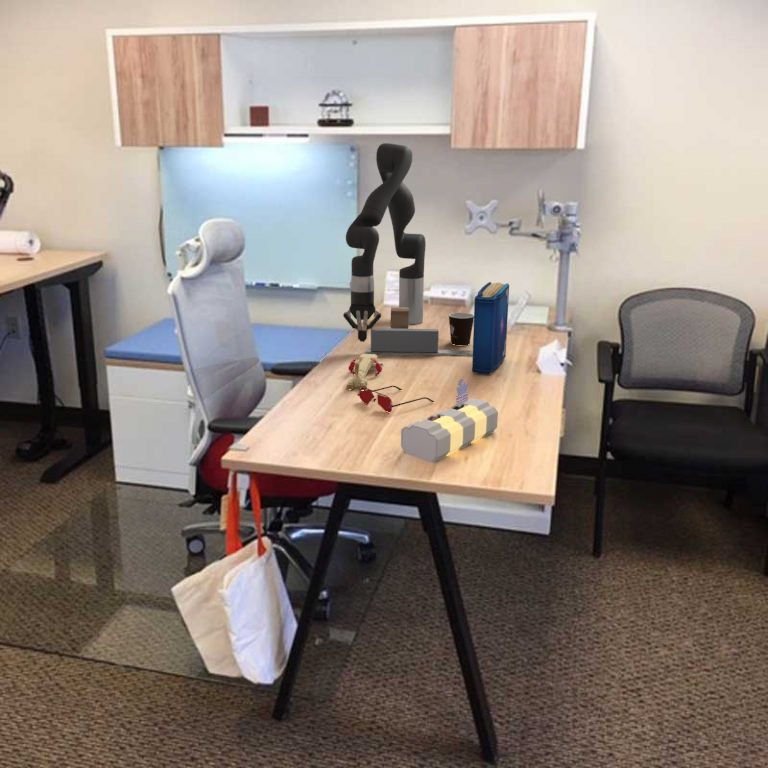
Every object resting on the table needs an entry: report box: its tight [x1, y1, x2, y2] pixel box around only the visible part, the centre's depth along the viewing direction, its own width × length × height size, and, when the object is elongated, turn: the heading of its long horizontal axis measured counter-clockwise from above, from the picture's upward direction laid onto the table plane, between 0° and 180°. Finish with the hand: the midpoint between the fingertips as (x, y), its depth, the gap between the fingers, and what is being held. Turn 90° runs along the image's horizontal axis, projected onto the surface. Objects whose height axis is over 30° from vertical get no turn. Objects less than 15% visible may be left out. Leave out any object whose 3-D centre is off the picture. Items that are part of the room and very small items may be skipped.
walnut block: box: [390, 306, 409, 329], centre depth 280 cm, size 6×6×12 cm
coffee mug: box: [448, 312, 474, 346], centre depth 282 cm, size 12×9×10 cm
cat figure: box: [346, 353, 384, 391], centre depth 243 cm, size 10×9×25 cm
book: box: [471, 281, 510, 375], centre depth 252 cm, size 22×7×25 cm, turn 161°
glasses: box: [357, 385, 435, 413], centre depth 222 cm, size 14×16×5 cm
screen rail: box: [364, 348, 473, 357], centre depth 270 cm, size 4×40×1 cm, turn 88°
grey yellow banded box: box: [400, 379, 499, 463], centre depth 193 cm, size 25×10×13 cm, turn 140°
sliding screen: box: [370, 327, 439, 352], centre depth 269 cm, size 3×22×7 cm, turn 88°
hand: (362, 341), depth 269 cm, fingers closed
